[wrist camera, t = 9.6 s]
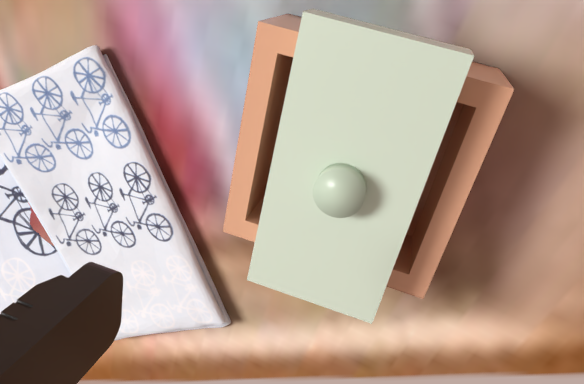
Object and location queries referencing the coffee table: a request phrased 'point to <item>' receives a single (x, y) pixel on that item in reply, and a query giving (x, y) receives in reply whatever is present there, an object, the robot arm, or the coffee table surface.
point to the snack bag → (95, 199)
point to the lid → (352, 158)
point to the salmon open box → (440, 183)
